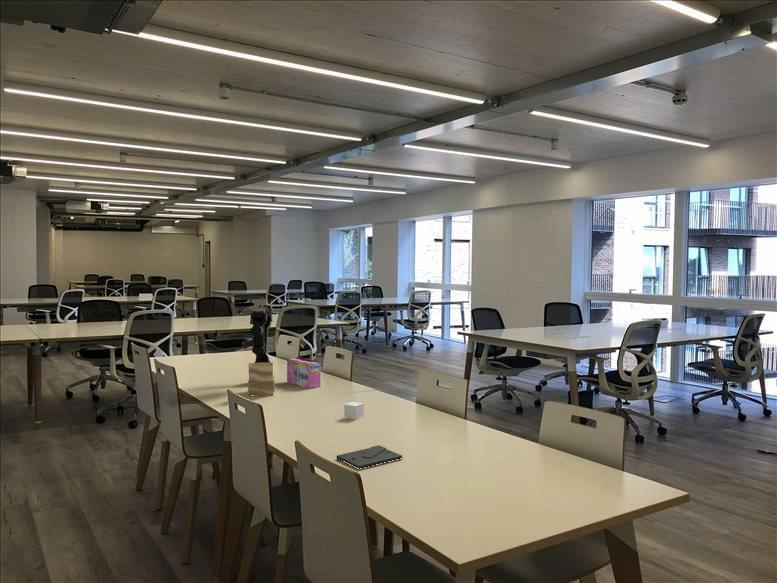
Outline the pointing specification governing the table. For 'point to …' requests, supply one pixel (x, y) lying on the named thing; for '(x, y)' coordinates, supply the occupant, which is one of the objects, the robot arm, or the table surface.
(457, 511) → the table surface
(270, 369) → the flap
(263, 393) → the carton
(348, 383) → the table surface
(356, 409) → the white cube
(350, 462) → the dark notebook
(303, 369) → the gum box
